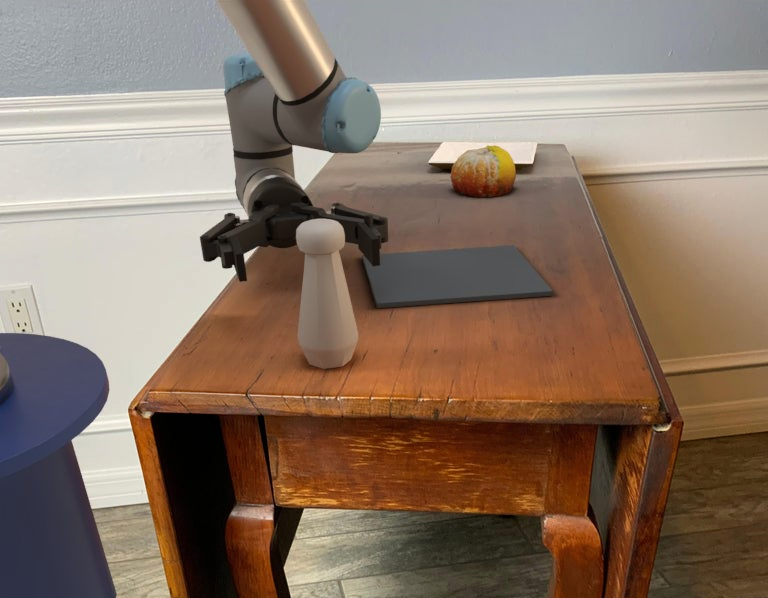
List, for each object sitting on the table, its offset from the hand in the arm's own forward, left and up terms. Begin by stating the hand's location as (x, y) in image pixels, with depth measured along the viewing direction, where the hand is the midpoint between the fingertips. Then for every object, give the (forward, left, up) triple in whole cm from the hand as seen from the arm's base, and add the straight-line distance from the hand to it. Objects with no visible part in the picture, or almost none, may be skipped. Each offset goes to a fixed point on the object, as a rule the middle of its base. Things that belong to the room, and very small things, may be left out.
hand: (310, 260), depth 79 cm
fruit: (+30, +56, -8) cm, 64 cm away
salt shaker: (+1, -8, -8) cm, 11 cm away
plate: (+35, +77, -8) cm, 85 cm away
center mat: (+17, +14, -7) cm, 24 cm away
